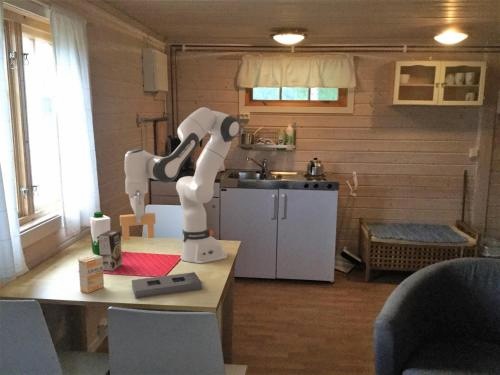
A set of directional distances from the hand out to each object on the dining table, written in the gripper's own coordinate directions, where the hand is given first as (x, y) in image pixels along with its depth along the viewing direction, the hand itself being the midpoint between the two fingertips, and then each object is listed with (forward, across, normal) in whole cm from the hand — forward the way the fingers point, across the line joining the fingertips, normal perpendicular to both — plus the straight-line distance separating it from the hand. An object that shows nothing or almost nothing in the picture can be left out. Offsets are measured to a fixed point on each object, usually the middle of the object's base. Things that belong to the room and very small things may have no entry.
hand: (138, 221), depth 191 cm
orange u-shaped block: (+7, 0, 0) cm, 7 cm away
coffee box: (+25, +19, +11) cm, 33 cm away
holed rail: (+25, -14, -9) cm, 30 cm away
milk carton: (+25, +42, +14) cm, 51 cm away
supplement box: (+25, -5, +19) cm, 32 cm away
